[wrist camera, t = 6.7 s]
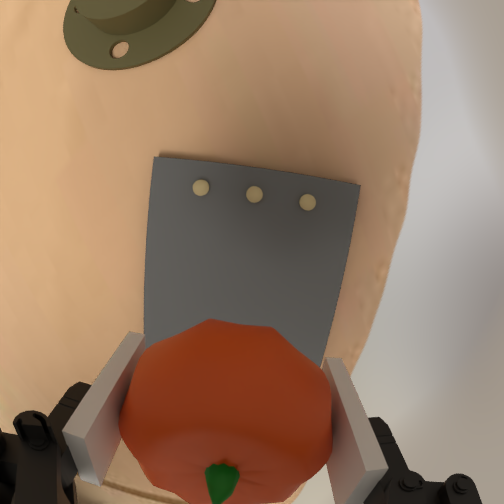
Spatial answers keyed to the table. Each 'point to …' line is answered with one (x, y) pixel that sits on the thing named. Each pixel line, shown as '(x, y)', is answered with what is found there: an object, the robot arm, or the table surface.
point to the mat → (245, 250)
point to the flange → (130, 29)
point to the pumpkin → (227, 415)
